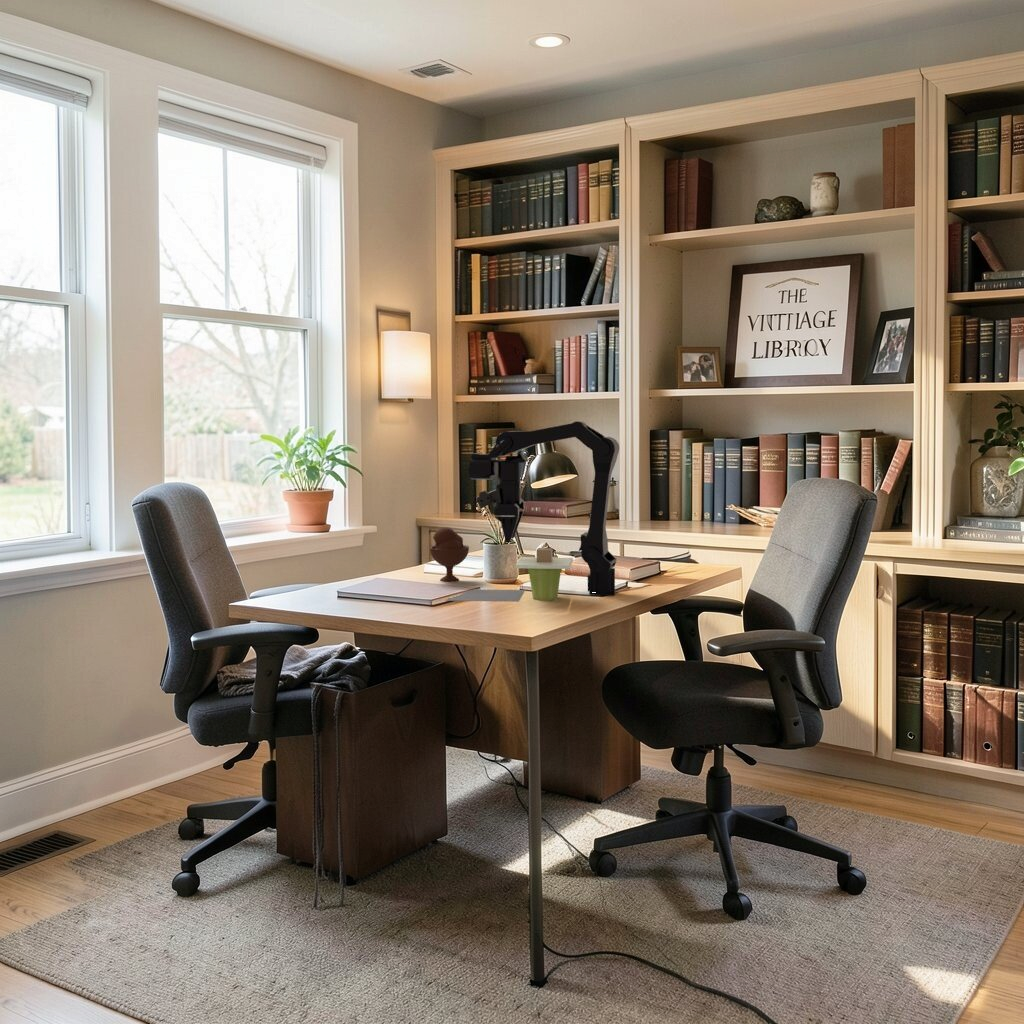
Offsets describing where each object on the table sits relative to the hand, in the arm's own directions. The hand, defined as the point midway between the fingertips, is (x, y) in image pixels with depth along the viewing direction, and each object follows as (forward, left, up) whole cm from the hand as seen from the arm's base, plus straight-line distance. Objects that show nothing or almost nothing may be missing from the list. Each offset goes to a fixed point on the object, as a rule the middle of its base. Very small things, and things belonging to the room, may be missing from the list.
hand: (509, 540), depth 279 cm
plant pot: (-10, +13, -13) cm, 21 cm away
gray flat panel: (+5, +10, -13) cm, 17 cm away
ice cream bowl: (+18, -12, -13) cm, 25 cm away
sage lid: (-10, +13, -4) cm, 17 cm away
